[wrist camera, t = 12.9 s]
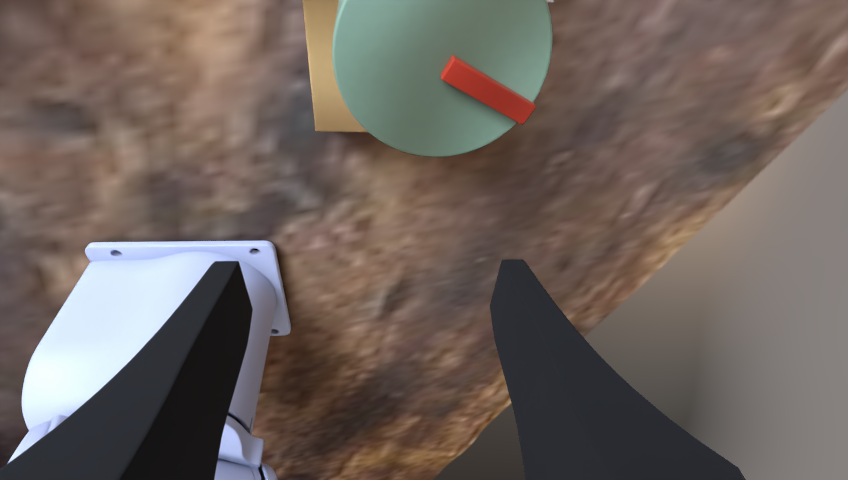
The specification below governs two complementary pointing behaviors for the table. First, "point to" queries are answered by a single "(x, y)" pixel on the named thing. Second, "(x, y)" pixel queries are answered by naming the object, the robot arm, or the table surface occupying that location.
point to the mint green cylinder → (441, 69)
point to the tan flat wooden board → (326, 69)
